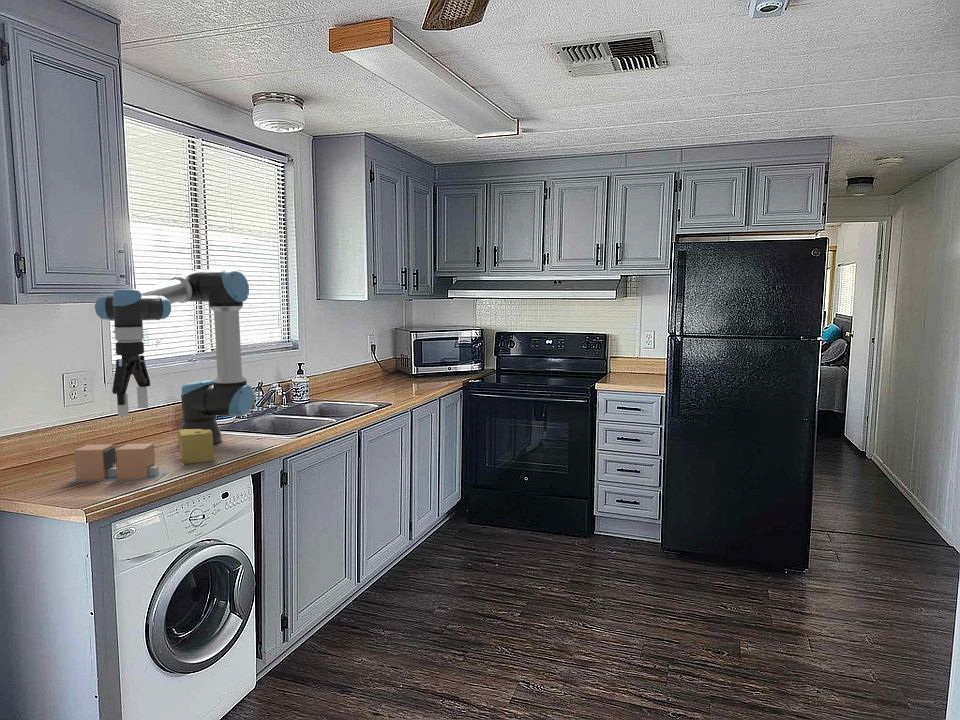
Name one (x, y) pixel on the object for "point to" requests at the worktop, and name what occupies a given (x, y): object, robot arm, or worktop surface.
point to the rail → (113, 476)
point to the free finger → (134, 460)
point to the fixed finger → (94, 461)
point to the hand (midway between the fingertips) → (133, 411)
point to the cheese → (196, 445)
